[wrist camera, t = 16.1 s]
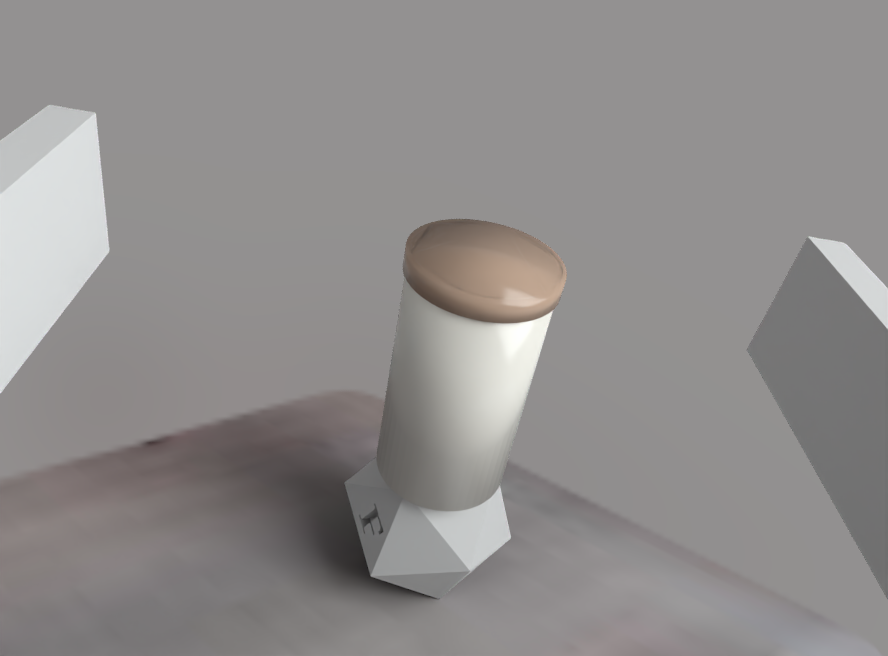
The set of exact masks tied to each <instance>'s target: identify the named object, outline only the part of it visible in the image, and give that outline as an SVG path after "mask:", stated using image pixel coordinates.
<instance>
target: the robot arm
mask: <svg viewBox="0 0 888 656" xmlns="http://www.w3.org/2000/svg"><path fill="white" fill-rule="evenodd" d="M108 252H109V243H108V232H107V222H106V213H105V203H104V192H103V182H102V172H101V163H100V153H99V142H98V132H97V121H96V113H94V112H88V111H82V110H76V109H71V108H65V107H59V106H53V105H48V106H47V107H45V108H44V109H43V110H41V111H40V112H39V113H37V114H36V115H34V116H33V117H32V118H30V119H29V120H28V121H26V122H25V123H24V124H22V125H21V126H20V127H18V128H17V129H15V130H14V131H13V132H11V133H10V134H9V135H7V136H6V137H5V138H3V139H2V140H0V393H1V392H2V391H3V389H4V388H5V387H6V385H7V384H8V383H9V382H10V380H11V379H12V377H13V376H14V375H15V374H16V372H17V371H18V370H19V368H20V367H21V366H22V365H23V363H24V362H25V361H26V359H27V358H28V357H29V355H30V354H31V353H32V352H33V350H34V349H35V348H36V346H37V345H38V344H39V342H40V341H41V340H42V338H43V337H44V336H45V335H46V333H47V332H48V331H49V329H50V328H51V327H52V325H53V324H54V323H55V322H56V320H57V319H58V318H59V316H60V315H61V314H62V312H63V311H64V309H65V308H66V307H67V306H68V305H69V303H70V302H71V301H72V299H73V298H74V297H75V295H76V294H77V293H78V292H79V290H80V289H81V288H82V286H83V285H84V283H85V282H86V281H87V280H88V279H89V277H90V276H91V275H92V273H93V272H94V271H95V269H96V268H97V267H98V265H99V264H100V263H101V261H102V260H103V259H104V258H105V256H106V255H107V254H108ZM747 351H748V353H749V355H750V356H751V358H752V360H753V362H754V363H755V365H756V367H757V369H758V370H759V372H760V374H761V376H762V378H763V379H764V381H765V383H766V385H767V386H768V388H769V390H770V392H771V393H772V395H773V397H774V399H775V401H776V402H777V404H778V406H779V408H780V409H781V411H782V413H783V414H784V417H785V418H786V420H787V422H788V424H789V425H790V427H791V429H792V431H793V432H794V434H795V436H796V438H797V440H798V441H799V443H800V445H801V447H802V448H803V450H804V452H805V454H806V455H807V457H808V459H809V460H810V463H811V464H812V466H813V468H814V469H815V471H816V473H817V475H818V477H819V478H820V480H821V482H822V484H823V486H824V487H825V489H826V491H827V493H828V494H829V496H830V498H831V500H832V502H833V503H834V505H835V507H836V509H837V510H838V512H839V514H840V516H841V517H842V519H843V521H844V523H845V524H846V526H847V528H848V530H849V532H850V533H851V535H852V537H853V539H854V540H855V542H856V544H857V546H858V548H859V549H860V551H861V553H862V555H863V556H864V558H865V560H866V562H867V564H868V565H869V567H870V569H871V571H872V572H873V574H874V576H875V578H876V579H877V581H878V583H879V585H880V587H881V588H882V590H883V592H884V594H885V595H886V597H887V599H888V288H887V287H886V286H885V285H884V284H883V283H882V282H881V281H880V280H879V279H878V278H877V277H876V275H875V274H874V273H873V272H872V271H871V270H870V269H869V268H868V267H867V266H866V265H865V264H864V263H863V262H862V260H860V258H859V257H858V256H857V255H856V254H855V253H854V252H853V251H852V250H851V249H850V248H849V247H848V246H847V245H846V244H845V243H843V242H837V241H832V240H826V239H820V238H814V237H809V236H808V237H807V239H806V241H805V243H804V244H803V246H802V248H801V250H800V252H799V254H798V256H797V257H796V259H795V261H794V263H793V265H792V267H791V268H790V270H789V272H788V274H787V276H786V278H785V280H784V281H783V284H782V285H781V287H780V289H779V291H778V293H777V295H776V296H775V298H774V300H773V302H772V304H771V306H770V307H769V309H768V311H767V313H766V315H765V317H764V318H763V320H762V322H761V324H760V326H759V328H758V330H757V331H756V333H755V335H754V337H753V339H752V341H751V343H750V344H749V346H748V348H747Z"/></svg>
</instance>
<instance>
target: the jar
mask: <svg viewBox="0 0 888 656" xmlns="http://www.w3.org/2000/svg"><path fill="white" fill-rule="evenodd" d="M403 272H404V276H405V278H404V284H403V290H402V296H401V302H400V309H399V315H398V322H397V328H396V334H395V340H394V347H393V353H392V359H391V365H390V372H389V378H388V385H387V391H386V397H385V403H384V409H383V416H382V422H381V428H380V435H379V441H378V447H377V455H376V460H377V466H378V470H379V472H380V474H381V476H382V478H383V479H384V481H385V482H386V484H387V485H388V486H389V487H390V488H391V489H392V490H393V491H394V492H395V493H396V494H398V495H399V496H401V497H402V498H404V499H405V500H407V501H409V502H411V503H413V504H415V505H418V506H420V507H424V508H427V509H431V510H437V511H461V510H466V509H471V508H473V507H476V506H479V505H480V504H482V503H484V502H486V501H487V500H488V499H490V498H491V497H492V496H493V495H494V494H495V492H496V491H497V489H498V488H499V486H500V483H501V480H502V477H503V474H504V470H505V467H506V464H507V460H508V457H509V454H510V450H511V447H512V444H513V441H514V437H515V434H516V431H517V427H518V424H519V421H520V417H521V414H522V411H523V407H524V404H525V401H526V397H527V394H528V391H529V388H530V384H531V381H532V377H533V374H534V371H535V368H536V365H537V361H538V358H539V354H540V351H541V348H542V344H543V341H544V338H545V334H546V331H547V328H548V325H549V321H550V318H551V315H552V312H553V310H554V309H555V307H556V306H557V305H558V303H559V301H560V298H561V294H562V291H563V288H564V285H565V281H566V277H567V272H566V268H565V265H564V263H563V261H562V260H561V258H560V257H559V256H558V255H557V254H556V253H555V252H554V251H553V250H552V249H551V248H550V247H548V246H547V245H546V244H544V243H543V242H541V241H540V240H538V239H536V238H534V237H532V236H530V235H528V234H526V233H524V232H522V231H519V230H516V229H514V228H510V227H507V226H504V225H500V224H496V223H492V222H487V221H479V220H470V219H449V220H441V221H436V222H431V223H428V224H425V225H423V226H421V227H419V228H417V229H416V230H414V231H413V232H412V233H411V234H410V236H409V237H408V239H407V242H406V248H405V254H404V261H403Z"/></svg>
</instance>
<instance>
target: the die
mask: <svg viewBox="0 0 888 656" xmlns="http://www.w3.org/2000/svg"><path fill="white" fill-rule="evenodd" d="M345 487H346V491H347V494H348V498H349V501H350V505H351V508H352V512H353V516H354V519H355V523H356V526H357V530H358V533H359V537H360V541H361V544H362V548H363V551H364V555H365V558H366V562H367V566H368V569H369V573H370V576H371V577H374V578H377V579H380V580H383V581H386V582H389V583H392V584H395V585H398V586H401V587H404V588H407V589H410V590H413V591H416V592H419V593H422V594H425V595H428V596H431V597H434V598H437V599H440V598H441V597H442V596H443V595H445V594H446V593H447V592H448V591H449V590H451V589H452V588H453V587H454V586H455V585H456V584H458V583H459V582H460V581H461V580H462V579H463V578H465V577H466V576H467V575H468V574H469V573H471V572H472V571H473V570H474V569H475V568H476V567H478V566H479V565H480V564H481V563H482V562H483V561H485V560H486V559H487V558H488V557H489V556H491V555H492V554H493V553H494V552H495V551H496V550H498V549H499V548H500V547H501V546H502V545H503V544H505V543H506V542H507V541H508V540H509V539H511V536H510V531H509V526H508V522H507V517H506V512H505V508H504V503H503V498H502V494H501V489H500V486H499V488H498V489H497V491H496V492H495V494H494V495H493V496H492V497H491V498H490V499H488V500H487V501H486V502H484V503H482V504H480V505H479V506H476V507H473V508H471V509H466V510H461V511H437V510H431V509H427V508H424V507H420V506H418V505H415V504H413V503H411V502H409V501H407V500H405V499H404V498H402V497H401V496H399V495H398V494H396V493H395V492H394V491H393V490H392V489H391V488H390V487H389V486H388V485H387V484H386V482H385V481H384V479H383V478H382V476H381V474H380V472H379V470H378V466H377V460H376V457H375V458H374V459H373V460H372V461H371V462H369V463H368V464H367V465H366V466H364V467H363V468H362V469H361V470H360V471H358V472H357V473H356V474H355V475H353V476H352V477H351V478H350V479H348V480H347V481H346V482H345Z"/></svg>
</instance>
